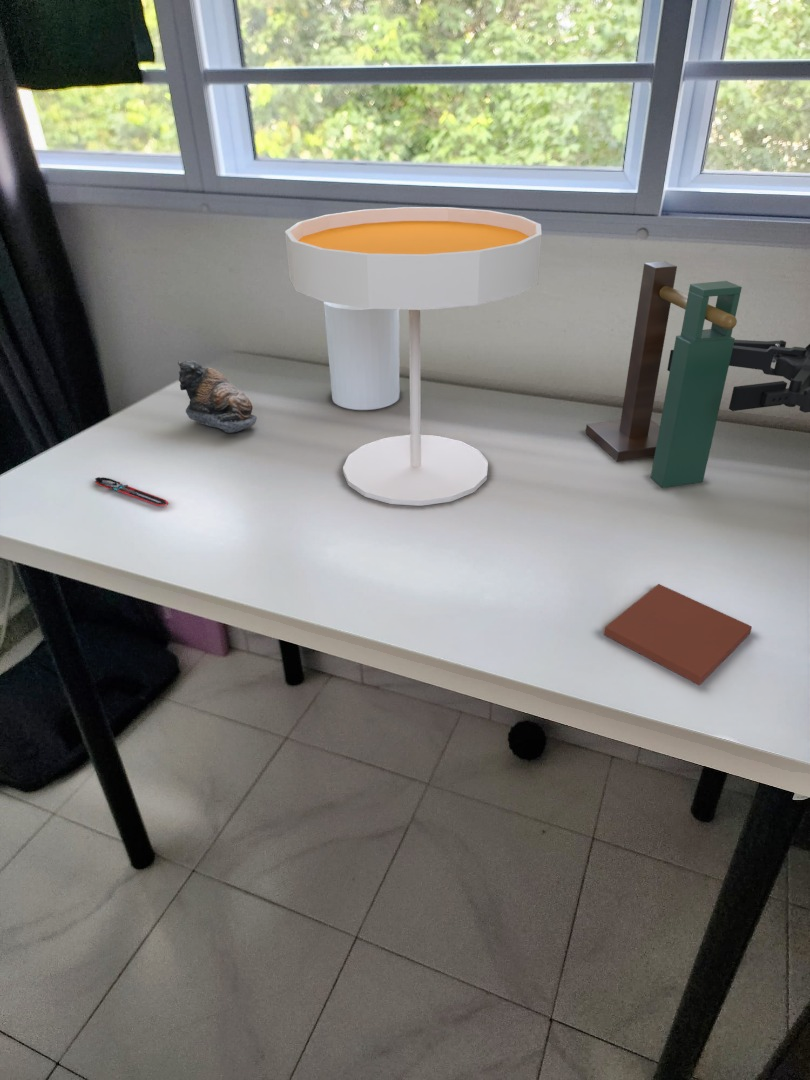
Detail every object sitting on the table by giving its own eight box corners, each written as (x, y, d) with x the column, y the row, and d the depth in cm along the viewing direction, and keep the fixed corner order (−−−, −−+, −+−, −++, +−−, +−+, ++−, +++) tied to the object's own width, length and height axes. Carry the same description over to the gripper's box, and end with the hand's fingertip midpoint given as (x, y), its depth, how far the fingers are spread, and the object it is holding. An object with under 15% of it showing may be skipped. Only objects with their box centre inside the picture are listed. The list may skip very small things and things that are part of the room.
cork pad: (750, 634, 73) (752, 626, 72) (699, 685, 67) (701, 677, 66) (657, 591, 79) (658, 583, 78) (603, 634, 73) (604, 626, 72)
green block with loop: (703, 482, 99) (746, 286, 85) (662, 488, 98) (699, 290, 84) (690, 472, 101) (731, 280, 88) (650, 477, 100) (685, 284, 86)
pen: (162, 510, 95) (161, 506, 94) (90, 483, 101) (89, 479, 101) (173, 503, 96) (172, 499, 96) (102, 477, 102) (101, 473, 102)
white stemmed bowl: (568, 491, 97) (598, 236, 80) (358, 548, 86) (342, 268, 70) (456, 412, 120) (461, 200, 103) (279, 450, 109) (252, 220, 92)
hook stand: (730, 490, 97) (778, 293, 83) (660, 501, 95) (698, 300, 81) (645, 425, 114) (674, 253, 101) (585, 432, 112) (606, 258, 99)
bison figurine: (265, 424, 117) (257, 362, 111) (239, 442, 111) (229, 378, 106) (203, 413, 121) (192, 352, 116) (174, 430, 116) (162, 367, 110)
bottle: (396, 411, 120) (392, 248, 107) (323, 409, 122) (311, 247, 108) (405, 385, 130) (402, 232, 117) (338, 383, 132) (328, 231, 118)
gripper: (914, 427, 88) (756, 449, 84) (777, 359, 108) (644, 374, 104) (938, 365, 84) (772, 385, 80) (790, 307, 104) (652, 320, 100)
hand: (699, 378), depth 92 cm, fingers open, 13 cm apart
